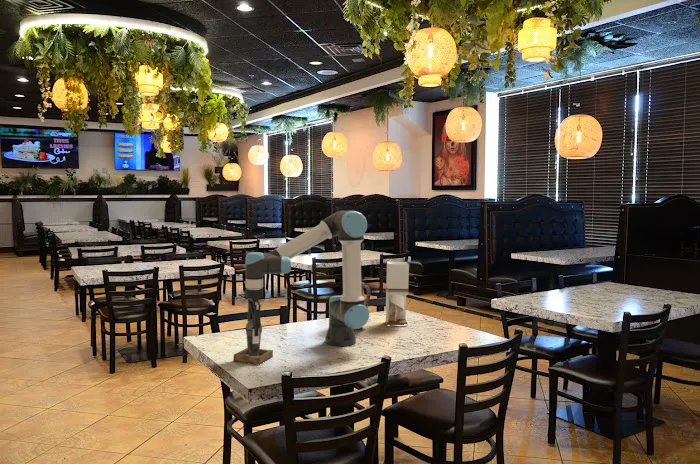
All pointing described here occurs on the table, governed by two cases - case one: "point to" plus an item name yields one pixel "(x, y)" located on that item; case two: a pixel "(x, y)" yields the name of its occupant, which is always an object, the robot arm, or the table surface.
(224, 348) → the table surface
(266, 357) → the wooden tray
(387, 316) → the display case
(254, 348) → the beverage cup
